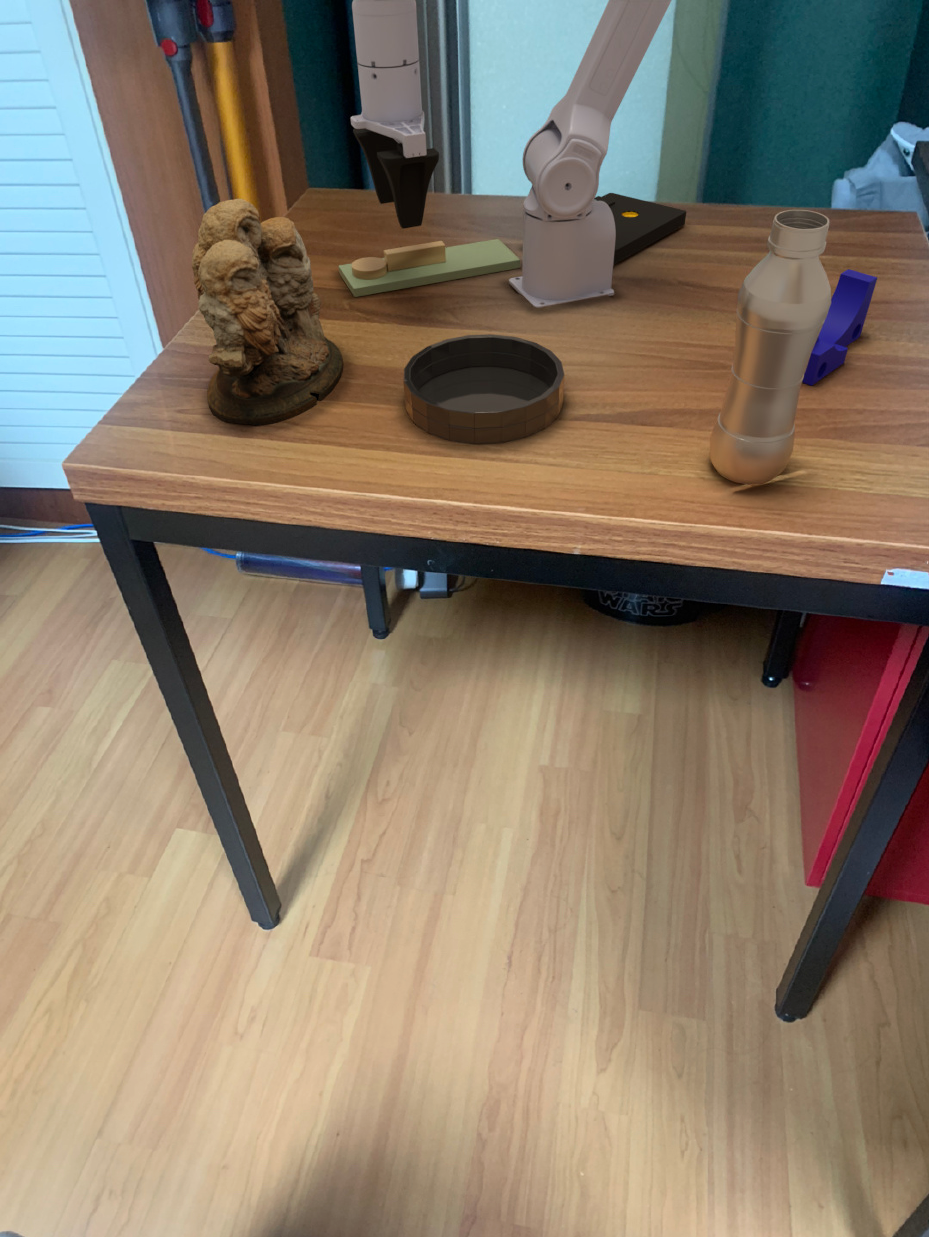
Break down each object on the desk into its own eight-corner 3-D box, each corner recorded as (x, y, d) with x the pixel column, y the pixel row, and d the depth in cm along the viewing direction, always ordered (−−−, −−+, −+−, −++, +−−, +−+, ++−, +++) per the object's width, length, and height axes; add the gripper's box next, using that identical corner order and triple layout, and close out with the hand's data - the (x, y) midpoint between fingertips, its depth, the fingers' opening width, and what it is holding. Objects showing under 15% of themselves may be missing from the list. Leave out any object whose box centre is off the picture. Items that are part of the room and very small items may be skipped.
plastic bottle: (788, 455, 74) (854, 206, 60) (782, 502, 70) (851, 243, 56) (710, 443, 76) (757, 198, 62) (698, 488, 71) (746, 233, 57)
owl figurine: (305, 442, 78) (270, 244, 66) (180, 431, 80) (124, 237, 68) (362, 346, 91) (341, 167, 79) (253, 339, 92) (217, 162, 81)
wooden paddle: (357, 282, 100) (355, 264, 98) (348, 269, 103) (346, 251, 101) (449, 266, 102) (449, 248, 101) (438, 253, 105) (437, 236, 104)
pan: (525, 357, 88) (526, 323, 86) (588, 428, 78) (590, 392, 76) (387, 385, 85) (384, 351, 82) (435, 462, 75) (433, 426, 73)
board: (498, 247, 109) (498, 238, 108) (520, 268, 104) (520, 259, 103) (339, 274, 104) (338, 265, 103) (354, 297, 99) (353, 288, 99)
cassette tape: (609, 207, 117) (610, 190, 116) (685, 226, 112) (687, 208, 110) (524, 249, 108) (524, 231, 106) (602, 273, 102) (604, 254, 101)
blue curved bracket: (811, 385, 82) (827, 324, 78) (768, 369, 85) (782, 309, 81) (874, 341, 88) (892, 281, 84) (832, 327, 91) (848, 269, 87)
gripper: (327, 49, 86) (344, 197, 96) (367, 83, 76) (382, 244, 86) (397, 42, 88) (407, 187, 97) (445, 74, 78) (451, 233, 87)
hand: (399, 213), depth 92 cm, fingers open, 7 cm apart
